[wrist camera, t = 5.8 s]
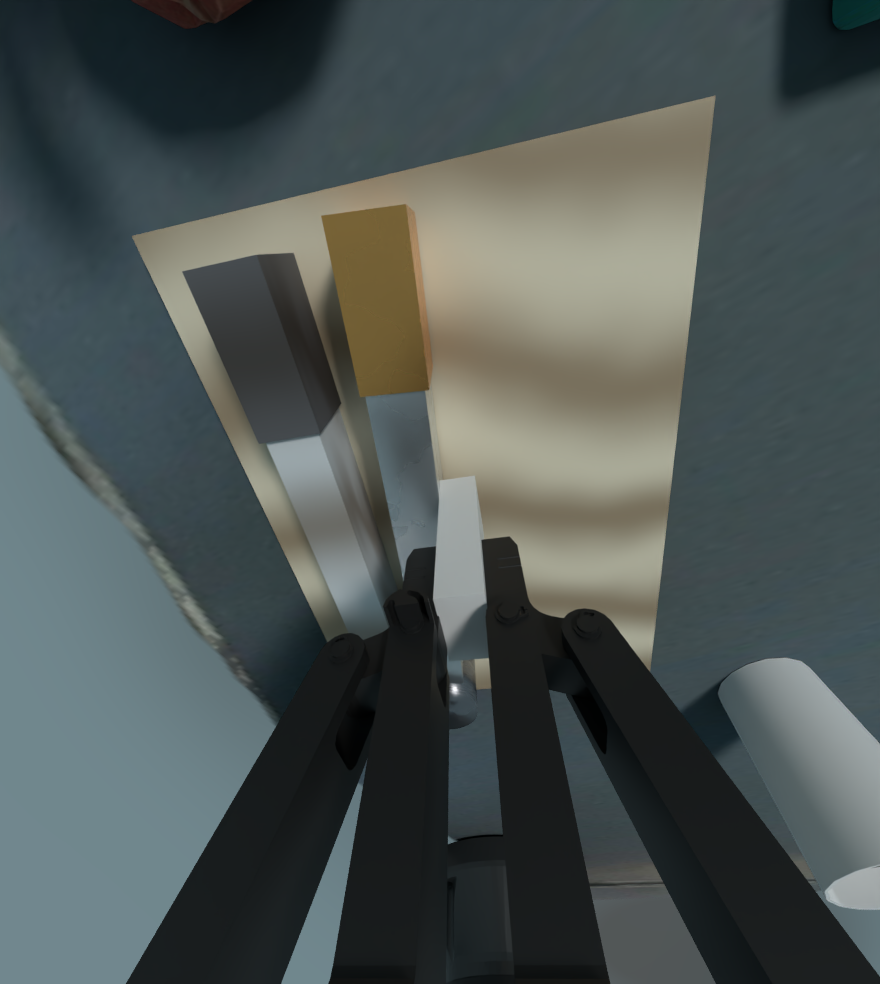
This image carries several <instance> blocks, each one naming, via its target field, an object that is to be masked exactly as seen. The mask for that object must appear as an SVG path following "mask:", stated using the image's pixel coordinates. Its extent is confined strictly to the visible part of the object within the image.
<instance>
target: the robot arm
mask: <svg viewBox="0 0 880 984" xmlns="http://www.w3.org/2000/svg"><path fill="white" fill-rule="evenodd" d="M383 609H384V612H385V615H386V617H387V620H388V623H389V626H390V627H389V628H388V629H386V630H385V631H383V632H381V633H379V634H377V635H375V636H372V637H369V638H367V639H364V640H363V639H362V638H361V637H360V636H359V635H356V634H353V633H344V634H341V635H338V636H336V637H334V638H332V639H331V640H330V641H328V642H327V643H326V644H325V646H324V647H323V648H322V649H321V651H320V653H319V654H318V656H317V658H316V659H315V661H314V663H313V665H312V666H311V668H310V670H309V671H308V673H307V675H306V677H305V678H304V680H303V682H302V683H301V685H300V687H299V688H298V690H297V692H296V694H295V695H294V697H293V699H292V700H291V702H290V704H289V706H288V707H287V709H286V711H285V712H284V714H283V716H282V718H281V719H280V721H279V723H278V724H277V726H276V728H275V730H274V731H273V733H272V735H271V737H270V738H269V740H268V742H267V743H266V745H265V747H264V748H263V750H262V752H261V754H260V756H259V757H258V759H257V760H256V762H255V764H254V765H253V767H252V769H251V771H250V772H249V774H248V776H247V777H246V779H245V781H244V783H243V784H242V786H241V788H240V790H239V791H238V793H237V795H236V796H235V798H234V800H233V801H232V803H231V805H230V807H229V808H228V810H227V812H226V814H225V815H224V817H223V819H222V820H221V822H220V824H219V826H218V827H217V829H216V831H215V832H214V834H213V836H212V837H211V839H210V841H209V842H208V844H207V846H206V848H205V849H204V851H203V853H202V855H201V856H200V858H199V860H198V861H197V863H196V865H195V866H194V868H193V870H192V872H191V873H190V875H189V877H188V878H187V880H186V882H185V884H184V885H183V887H182V889H181V891H180V892H179V894H178V896H177V897H176V899H175V901H174V903H173V904H172V906H171V908H170V909H169V911H168V913H167V914H166V916H165V918H164V920H163V921H162V923H161V925H160V926H159V928H158V930H157V931H156V933H155V935H154V937H153V938H152V940H151V942H150V943H149V945H148V947H147V949H146V950H145V952H144V954H143V955H142V957H141V959H140V961H139V962H138V964H137V966H136V967H135V969H134V971H133V973H132V974H131V976H130V978H129V979H128V981H127V983H126V984H281V982H282V979H283V977H284V974H285V971H286V969H287V966H288V964H289V961H290V958H291V956H292V953H293V951H294V948H295V945H296V943H297V940H298V938H299V935H300V933H301V930H302V927H303V925H304V922H305V920H306V917H307V914H308V912H309V909H310V906H311V904H312V901H313V899H314V896H315V893H316V891H317V888H318V886H319V883H320V880H321V878H322V875H323V872H324V870H325V867H326V865H327V862H328V860H329V857H330V854H331V852H332V849H333V847H334V844H335V841H336V839H337V836H338V833H339V831H340V828H341V826H342V823H343V820H344V818H345V815H346V812H347V810H348V807H349V805H350V802H351V799H352V797H353V794H354V792H355V789H356V786H357V784H358V781H359V779H360V776H361V773H362V771H363V768H364V766H365V763H366V760H367V758H368V760H367V766H366V772H365V778H364V784H363V790H362V796H361V802H360V808H359V814H358V820H357V826H356V832H355V838H354V844H353V850H352V856H351V861H350V867H349V874H348V880H347V885H346V891H345V897H344V903H343V909H342V915H341V921H340V928H339V933H338V940H337V945H336V952H335V957H334V963H333V968H332V973H331V978H330V981H329V984H610V981H609V976H608V972H607V967H606V962H605V957H604V953H603V948H602V943H601V938H600V933H599V929H598V924H597V920H596V915H595V910H594V905H593V900H592V895H591V890H590V885H589V881H588V876H587V871H586V866H585V861H584V857H583V852H582V847H581V842H580V837H579V833H578V828H577V823H576V818H575V813H574V809H573V804H572V799H571V794H570V789H569V785H568V780H567V775H566V770H565V765H564V761H563V756H562V751H561V746H560V741H559V737H558V732H557V727H556V722H555V717H554V713H553V708H552V703H551V698H550V693H549V690H553V691H557V692H562V693H566V696H567V698H568V700H569V702H570V703H571V705H572V707H573V709H574V711H575V713H576V715H577V717H578V719H579V721H580V723H581V725H582V727H583V728H584V730H585V732H586V734H587V736H588V738H589V740H590V742H591V744H592V746H593V748H594V750H595V752H596V753H597V755H598V757H599V759H600V761H601V763H602V765H603V767H604V769H605V771H606V773H607V775H608V777H609V778H610V780H611V782H612V784H613V786H614V788H615V790H616V792H617V794H618V796H619V798H620V800H621V802H622V803H623V805H624V807H625V809H626V811H627V813H628V815H629V817H630V819H631V821H632V823H633V825H634V827H635V828H636V830H637V832H638V834H639V836H640V838H641V840H642V842H643V844H644V846H645V848H646V850H647V852H648V854H649V855H650V857H651V859H652V861H653V863H654V865H655V867H656V869H657V871H658V873H659V875H660V877H661V879H662V880H663V882H664V884H665V886H666V888H667V890H668V892H669V894H670V896H671V898H672V900H673V902H674V904H675V905H676V907H677V909H678V911H679V913H680V915H681V917H682V919H683V921H684V923H685V925H686V927H687V929H688V930H689V932H690V934H691V936H692V938H693V940H694V942H695V944H696V945H697V948H698V950H699V952H700V954H701V955H702V957H703V959H704V961H705V963H706V965H707V967H708V969H709V971H710V973H711V975H712V977H713V978H714V980H715V982H716V984H880V977H879V975H878V974H877V972H876V971H875V970H874V969H873V967H872V966H871V965H870V963H869V962H868V961H867V960H866V958H865V957H864V955H863V954H862V953H861V951H860V950H859V949H858V947H857V946H856V945H855V943H854V942H853V941H852V939H851V938H850V937H849V935H848V934H847V933H846V932H845V930H844V929H843V927H842V926H841V925H840V924H839V922H838V921H837V919H836V918H835V917H834V916H833V914H832V913H831V912H830V910H829V909H828V908H827V906H826V905H825V904H824V902H823V901H822V900H821V898H820V897H819V896H818V894H817V893H816V892H815V890H814V889H813V888H812V886H811V885H810V884H809V882H808V881H807V880H806V878H805V877H804V876H803V874H802V873H801V872H800V870H799V869H798V868H797V866H796V865H795V864H794V862H793V861H792V860H791V858H790V857H789V856H788V854H787V853H786V852H785V850H784V849H783V848H782V846H781V845H780V844H779V843H778V841H777V840H776V839H775V837H774V836H773V835H772V833H771V832H770V831H769V829H768V828H767V827H766V825H765V824H764V823H763V821H762V820H761V819H760V817H759V816H758V815H757V813H756V812H755V811H754V809H753V808H752V807H751V805H750V804H749V803H748V801H747V800H746V799H745V797H744V796H743V795H742V793H741V792H740V791H739V789H738V788H737V787H736V785H735V784H734V783H733V781H732V780H731V779H730V778H729V776H728V775H727V774H726V772H725V771H724V770H723V768H722V767H721V766H720V764H719V763H718V762H717V760H716V759H715V758H714V756H713V755H712V754H711V752H710V751H709V750H708V748H707V747H706V746H705V744H704V743H703V742H702V740H701V739H700V738H699V736H698V735H697V734H696V732H695V731H694V730H693V728H692V727H691V726H690V724H689V723H688V722H687V720H686V719H685V718H684V716H683V715H682V714H681V713H680V711H679V710H678V709H677V707H676V706H675V705H674V703H673V702H672V701H671V699H670V698H669V697H668V695H667V694H666V693H665V691H664V690H663V689H662V687H661V686H660V685H659V683H658V682H657V681H656V679H655V678H654V677H653V675H652V674H651V673H650V671H649V670H648V669H647V667H646V666H645V665H644V663H643V662H642V661H641V659H640V658H639V657H638V655H637V654H636V653H635V651H634V650H633V649H632V648H631V646H630V645H629V644H628V642H627V641H626V640H625V638H624V637H623V636H622V634H621V633H620V632H619V630H618V629H617V628H616V626H615V625H614V624H613V622H612V621H611V620H610V619H609V618H608V617H607V616H606V615H605V614H603V613H601V612H599V611H596V610H593V609H587V608H583V609H576V610H573V611H572V612H570V613H568V614H567V615H566V616H565V617H564V618H560V617H555V616H550V615H546V614H544V613H542V612H540V611H538V610H537V609H535V608H534V607H533V606H532V604H531V603H530V601H529V598H528V595H527V590H526V585H525V580H524V575H523V570H522V566H521V560H520V555H519V551H518V546H517V544H516V543H515V542H514V541H513V540H512V538H511V537H510V536H507V537H499V538H491V539H484V532H483V525H482V518H481V512H480V506H479V499H478V493H477V486H476V480H475V476H468V477H461V478H454V479H447V480H440V494H439V510H438V526H437V542H436V546H434V547H426V548H418V549H413V551H412V552H411V554H410V555H409V557H408V558H407V561H406V567H405V574H404V581H403V587H402V589H400V590H398V591H396V592H394V593H392V594H391V595H390V596H389V597H388V598H387V599H386V601H385V603H384V605H383ZM447 654H448V658H449V662H450V661H462V660H473V659H484V658H489V667H490V679H491V692H492V704H493V716H494V729H495V741H496V753H497V766H498V778H499V790H500V803H501V815H502V827H503V837H480V838H472V839H466V840H461V841H457V842H454V843H451V844H448V772H449V686H450V678H449V673H448V669H447Z"/></svg>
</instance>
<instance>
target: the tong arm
mask: <svg viewBox="0 0 880 984" xmlns="http://www.w3.org/2000/svg"><path fill="white" fill-rule="evenodd" d="M321 218H322V223H323V227H324V232H325V237H326V241H327V246H328V251H329V255H330V260H331V265H332V269H333V274H334V279H335V283H336V288H337V293H338V297H339V302H340V307H341V311H342V316H343V321H344V325H345V330H346V334H347V339H348V344H349V348H350V353H351V358H352V362H353V367H354V372H355V376H356V381H357V386H358V390H359V395H360V397H365V398H366V403H367V408H368V413H369V417H370V422H371V427H372V432H373V437H374V441H375V446H376V451H377V456H378V461H379V465H380V470H381V475H382V480H383V485H384V489H385V494H386V499H387V504H388V509H389V513H390V518H391V523H392V528H393V533H394V537H395V542H396V547H397V552H398V557H399V562H400V566H401V571H402V576H403V581H404V574H405V567H406V561H407V558H408V557H409V555H410V554H411V552H412V551H413V549H418V548H426V547H434V546H436V542H437V526H438V510H439V494H440V480H443V475H442V467H441V459H440V451H439V442H438V434H437V426H436V418H435V410H434V402H433V393H432V385H431V376H432V370H433V362H432V353H431V345H430V336H429V328H428V319H427V311H426V302H425V294H424V285H423V277H422V268H421V260H420V251H419V243H418V234H417V226H416V217H415V212H414V211H413V210H412V209H411V208H410V207H409V206H408V205H406V204H402V205H395V206H388V207H380V208H373V209H366V210H359V211H351V212H344V213H337V214H330V215H322V216H321ZM447 669H448V673H449V678H450V686H449V729H457V728H461V727H464V726H467V725H469V724H470V723H472V722H473V721H474V720H475V718H476V717H477V713H478V710H477V692H476V674H475V659H473V660H462V661H450V662H449V658H448V654H447Z"/></svg>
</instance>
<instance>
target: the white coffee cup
mask: <svg viewBox="0 0 880 984" xmlns="http://www.w3.org/2000/svg"><path fill="white" fill-rule="evenodd" d="M718 696H719V698H720V701H721V703H722V705H723V707H724V709H725V710H726V712H727V714H728V716H729V718H730V720H731V722H732V724H733V725H734V727H735V729H736V731H737V733H738V735H739V737H740V739H741V740H742V742H743V744H744V746H745V748H746V750H747V752H748V754H749V755H750V757H751V759H752V761H753V763H754V765H755V767H756V769H757V770H758V772H759V774H760V776H761V778H762V780H763V782H764V784H765V785H766V787H767V789H768V791H769V793H770V795H771V797H772V798H773V800H774V802H775V804H776V806H777V808H778V810H779V812H780V813H781V815H782V817H783V819H784V821H785V823H786V825H787V827H788V828H789V830H790V832H791V834H792V836H793V838H794V840H795V842H796V843H797V845H798V847H799V849H800V851H801V853H802V855H803V857H804V858H805V860H806V862H807V864H808V866H809V868H810V870H811V872H812V873H813V875H814V877H815V879H816V881H817V883H818V885H819V887H820V888H821V890H822V892H823V894H824V896H825V898H826V899H827V901H829V902H831V903H834V904H836V905H838V906H840V907H846V908H854V909H861V910H880V744H879V742H878V741H877V740H876V739H875V738H874V737H873V736H872V735H871V734H870V733H869V732H868V731H867V729H866V728H865V727H864V726H863V725H862V724H861V723H860V722H859V721H858V720H857V719H856V718H855V716H854V715H853V714H852V713H851V712H850V711H849V710H848V709H847V708H846V707H845V706H844V704H843V703H842V702H841V701H840V700H839V699H838V698H837V697H836V696H835V695H834V694H833V693H832V691H831V690H830V689H829V688H828V687H827V686H826V685H825V684H824V683H823V682H822V681H821V680H820V678H819V677H818V676H817V675H816V674H815V673H814V672H813V671H812V670H811V668H809V667H808V666H807V665H805V664H804V663H803V662H802V661H798V660H794V659H789V658H773V659H764V660H761V661H757V662H754V663H750V664H747V665H745V666H743V667H742V668H740V669H738V670H736V671H734V672H732V673H731V674H730V675H729V676H728V677H727V678H726V679H725V680H724V681H723V682H722V683H721V685H720V688H719V691H718Z"/></svg>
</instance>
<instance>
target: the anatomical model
mask: <svg viewBox="0 0 880 984" xmlns="http://www.w3.org/2000/svg"><path fill="white" fill-rule="evenodd" d="M131 1H133V2H134V3H136V4H138V5H140V6H142V7H144V8H146V9H148V10H150V11H151V12H153V13H155V14H157V15H159V16H161V17H163V18H165V19H167V20H169V21H171V22H173V23H175V24H177V25H179V26H181V27H182V28H184V29H189V28H196V27H199V26H200V25H202V24H205V23H207V22H210V23H217V22H219V21H221V20H223V19H225V18H227V17H228V16H230V15H231V14H233V13H234V12H236V11H237V10H239V9H240V8H242V7H243V6H244V5H246V4H247V3H249V2H250V1H252V0H131Z"/></svg>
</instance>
